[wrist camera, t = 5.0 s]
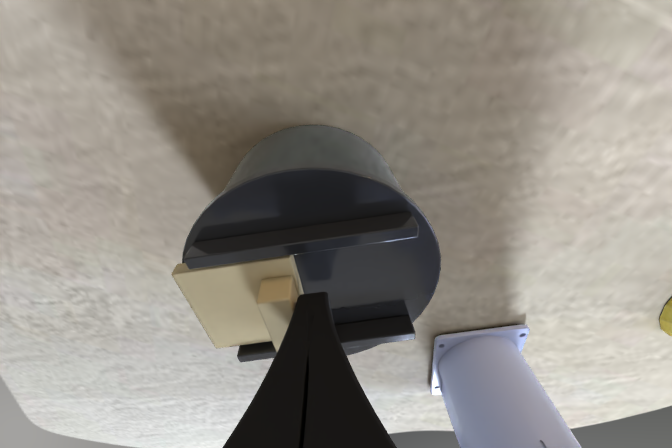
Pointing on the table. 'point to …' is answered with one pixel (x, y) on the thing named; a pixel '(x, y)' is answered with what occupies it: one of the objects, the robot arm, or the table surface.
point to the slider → (243, 299)
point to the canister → (326, 232)
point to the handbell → (667, 318)
